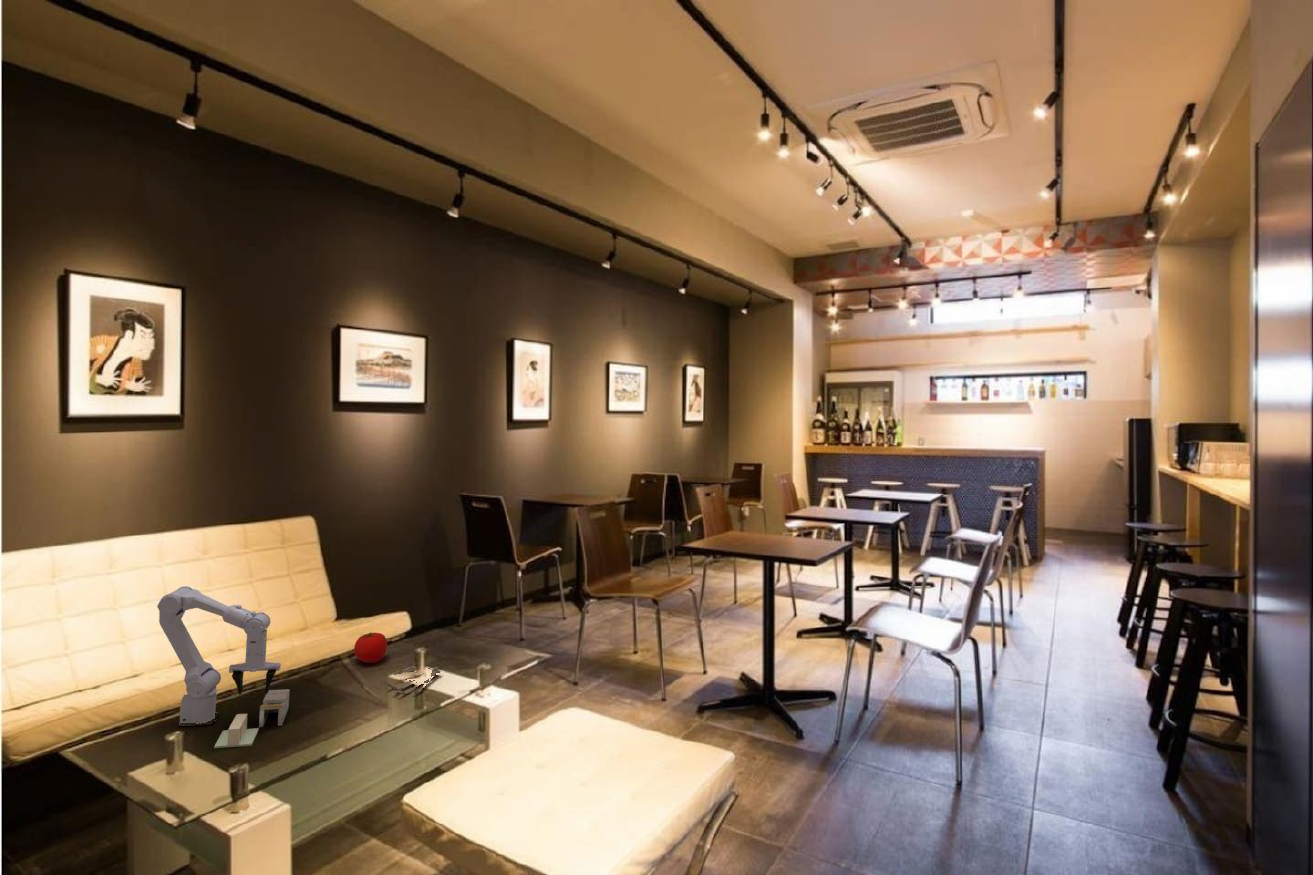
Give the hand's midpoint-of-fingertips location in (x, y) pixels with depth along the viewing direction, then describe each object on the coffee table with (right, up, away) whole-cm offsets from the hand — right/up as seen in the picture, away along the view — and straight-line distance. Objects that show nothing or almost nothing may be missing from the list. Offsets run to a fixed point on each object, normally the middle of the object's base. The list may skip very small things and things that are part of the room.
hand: (253, 692), depth 229 cm
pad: (+1, -11, -10) cm, 15 cm away
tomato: (+15, -8, +57) cm, 59 cm away
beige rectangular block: (+1, -10, -10) cm, 14 cm away
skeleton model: (+39, -12, +38) cm, 55 cm away
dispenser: (+4, -10, +5) cm, 12 cm away
